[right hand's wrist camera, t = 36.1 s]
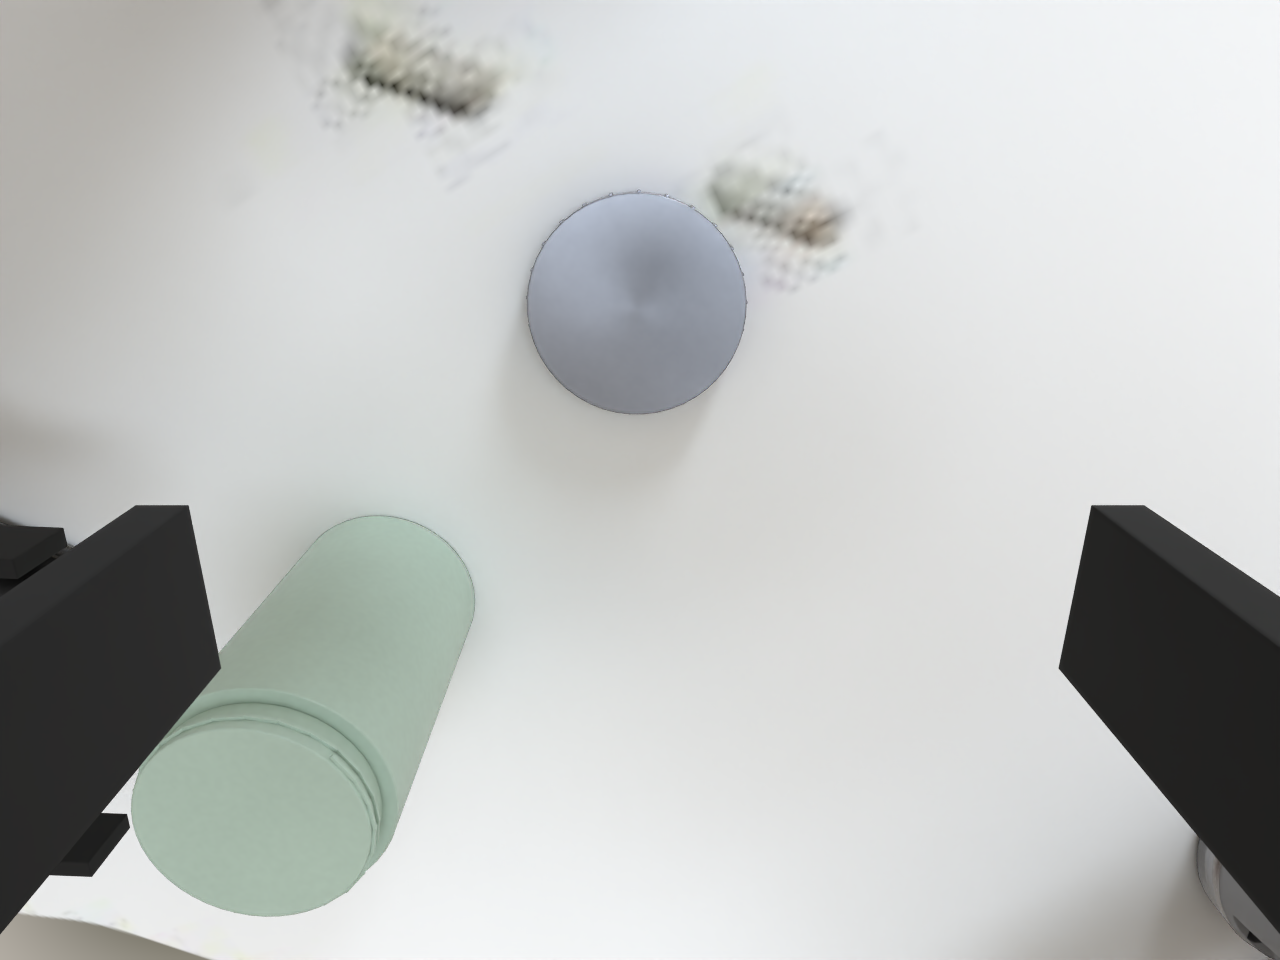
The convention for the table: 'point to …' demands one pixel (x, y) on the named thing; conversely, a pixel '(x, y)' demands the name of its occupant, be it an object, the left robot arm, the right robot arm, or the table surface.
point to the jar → (310, 724)
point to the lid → (636, 303)
